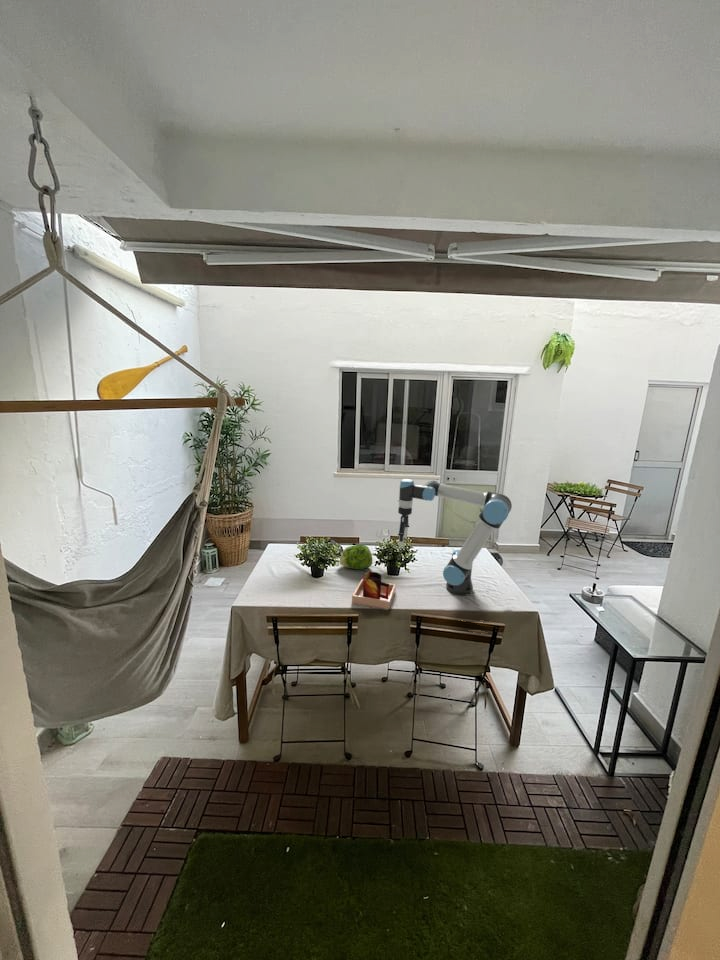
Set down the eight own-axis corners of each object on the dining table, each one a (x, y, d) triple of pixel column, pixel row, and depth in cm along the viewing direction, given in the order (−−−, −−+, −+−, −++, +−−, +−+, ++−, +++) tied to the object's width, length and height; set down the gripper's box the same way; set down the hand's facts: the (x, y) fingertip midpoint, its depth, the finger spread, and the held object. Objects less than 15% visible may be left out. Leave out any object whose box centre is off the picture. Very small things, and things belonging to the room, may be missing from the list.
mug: (388, 601, 219) (389, 581, 217) (362, 599, 220) (363, 579, 217) (387, 592, 229) (389, 573, 226) (363, 591, 230) (364, 571, 227)
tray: (395, 592, 231) (395, 584, 230) (388, 610, 213) (389, 602, 211) (361, 586, 236) (361, 578, 235) (351, 603, 217) (352, 595, 216)
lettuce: (342, 564, 269) (335, 545, 264) (372, 556, 269) (366, 536, 263) (343, 579, 255) (336, 559, 249) (375, 570, 254) (369, 550, 248)
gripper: (402, 500, 242) (399, 533, 247) (394, 512, 219) (392, 549, 224) (414, 501, 240) (412, 535, 245) (408, 513, 217) (406, 551, 222)
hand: (402, 542), depth 234 cm, fingers open, 13 cm apart
